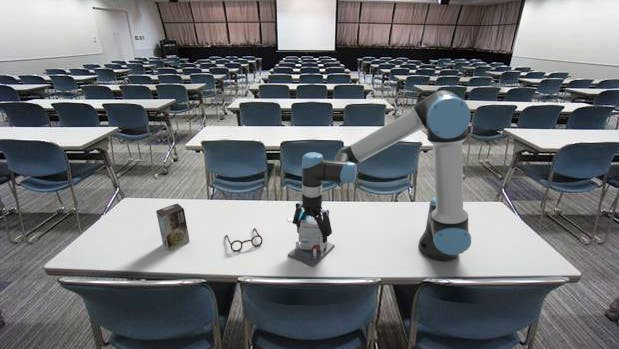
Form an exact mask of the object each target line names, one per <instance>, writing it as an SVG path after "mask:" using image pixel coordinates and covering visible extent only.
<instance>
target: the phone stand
mask: <svg viewBox="0 0 619 349" xmlns="http://www.w3.org/2000/svg"><path fill="white" fill-rule="evenodd" d="M303 212H304V209H302V210H301V213H300V217H299V220H300V218H301V216H302V214H303ZM306 218H310V219H313V217H311V216H307V217H306ZM293 219H294V217H287V222H288V223H293Z"/></svg>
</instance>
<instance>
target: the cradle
mask: <svg viewBox="0 0 619 349" xmlns="http://www.w3.org/2000/svg"><path fill="white" fill-rule="evenodd" d="M334 248H335V244H334V243H332V242H329V241H327V242H325V248H324V249H323V250H316V249H313V250H307V249H301V243H300V242H299V241H296V242H295V247H294V248H293V249H292V250H290V252H289V253H287V257H288V258H290V259H293V260H295V261H297V262H300V263H301V264H304V265H306V266H309V267H312V268H315V266H316V265H318V264H319V262H320V261H321V260H322V259H323V258H324V257H326V255H328V254H329V253H330V251H331V250H333V249H334Z"/></svg>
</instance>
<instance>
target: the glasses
mask: <svg viewBox="0 0 619 349" xmlns="http://www.w3.org/2000/svg"><path fill="white" fill-rule="evenodd" d="M252 231H253V232H254V231H255V235H254V236H253V237H251V239H246V240H243V241H241V240H238V239H236V240H233V241H230V239H229V235H228V234H226V235H224V237H225V238H227V242H228V243H229V245H230V250H231V251H232V252H234V253H237V252H239V251H241V250H242V248H243V244H244V243H248V242H251V245H252V246H253V247H259V246H261V245H262V244H263V240H264V239H263V237H262V236H261V235H260V234H259V233H258V230H257V229H256V228H253V229H252ZM255 238H260V242H259V244H254V241H253V240H254V239H255ZM235 243H240V247H239V248H238V249H236V250H235V249H234V248H233V245H234V244H235Z"/></svg>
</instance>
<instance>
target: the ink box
mask: <svg viewBox="0 0 619 349" xmlns="http://www.w3.org/2000/svg"><path fill="white" fill-rule="evenodd" d="M321 234H322V233H321V231H320V229H319V227H318V224H317V222H316V220H315V219H314V218H312V219H310V218H305V219H303V220H301V223H300V242H299V243H300V244H301V249H307V250H313V249H316V250H320V235H321Z"/></svg>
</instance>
